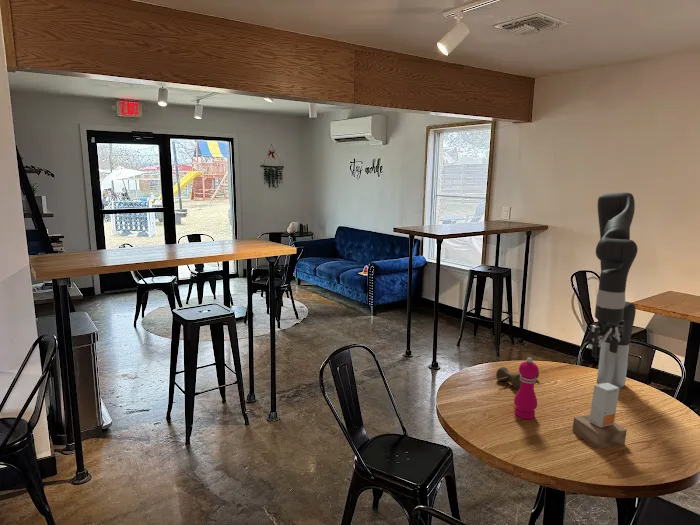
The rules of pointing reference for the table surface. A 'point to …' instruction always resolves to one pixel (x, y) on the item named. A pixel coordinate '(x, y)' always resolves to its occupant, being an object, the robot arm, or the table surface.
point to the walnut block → (599, 433)
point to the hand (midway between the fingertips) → (604, 354)
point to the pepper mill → (526, 390)
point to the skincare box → (604, 404)
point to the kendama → (510, 377)
